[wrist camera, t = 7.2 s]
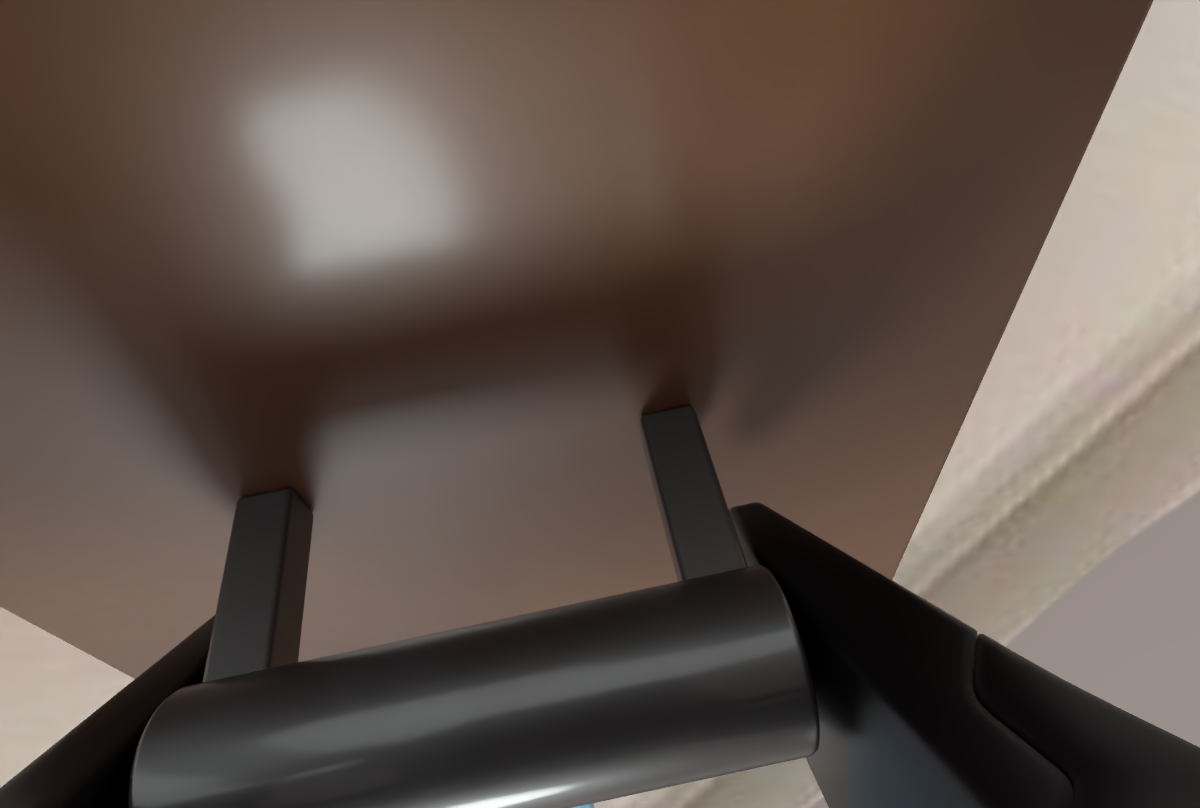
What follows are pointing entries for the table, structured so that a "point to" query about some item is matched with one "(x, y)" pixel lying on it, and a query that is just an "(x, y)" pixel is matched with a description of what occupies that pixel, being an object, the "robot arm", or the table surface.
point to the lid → (497, 359)
